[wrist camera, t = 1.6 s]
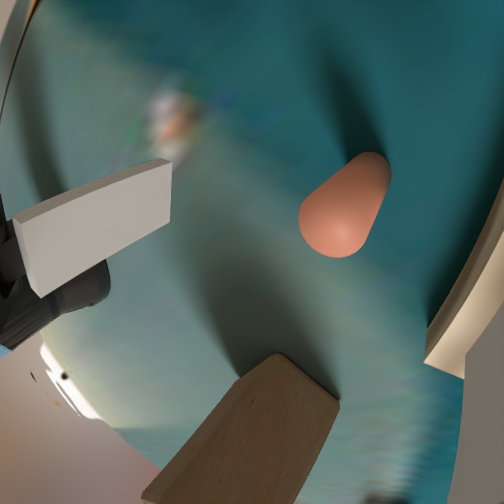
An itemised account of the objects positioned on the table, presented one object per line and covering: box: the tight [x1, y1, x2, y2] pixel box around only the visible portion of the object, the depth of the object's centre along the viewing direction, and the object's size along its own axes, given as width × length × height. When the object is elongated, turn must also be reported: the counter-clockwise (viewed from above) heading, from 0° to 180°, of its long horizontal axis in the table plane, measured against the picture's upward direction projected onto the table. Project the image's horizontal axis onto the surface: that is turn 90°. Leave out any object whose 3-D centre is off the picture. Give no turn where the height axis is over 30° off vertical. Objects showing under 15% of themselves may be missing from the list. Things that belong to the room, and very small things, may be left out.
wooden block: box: [141, 353, 340, 504], centre depth 27 cm, size 10×10×20 cm
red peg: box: [298, 152, 392, 257], centre depth 17 cm, size 3×3×10 cm
